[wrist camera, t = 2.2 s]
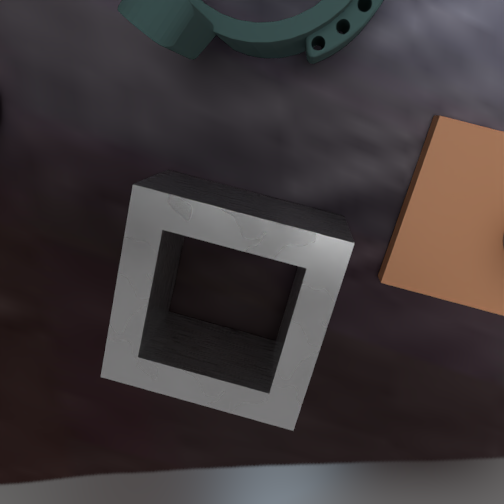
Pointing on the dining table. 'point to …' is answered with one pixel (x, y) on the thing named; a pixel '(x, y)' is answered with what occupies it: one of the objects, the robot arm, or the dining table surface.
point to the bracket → (250, 27)
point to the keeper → (453, 219)
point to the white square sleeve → (211, 335)
